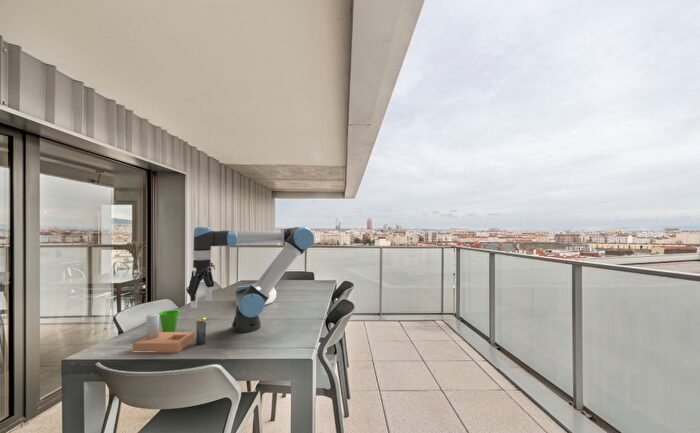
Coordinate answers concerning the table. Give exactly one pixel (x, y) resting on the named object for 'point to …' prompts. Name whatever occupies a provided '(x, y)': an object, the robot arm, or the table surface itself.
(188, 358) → the table surface
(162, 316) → the cup
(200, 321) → the pin
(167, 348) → the peach square-hole plate
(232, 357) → the table surface
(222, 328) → the table surface
